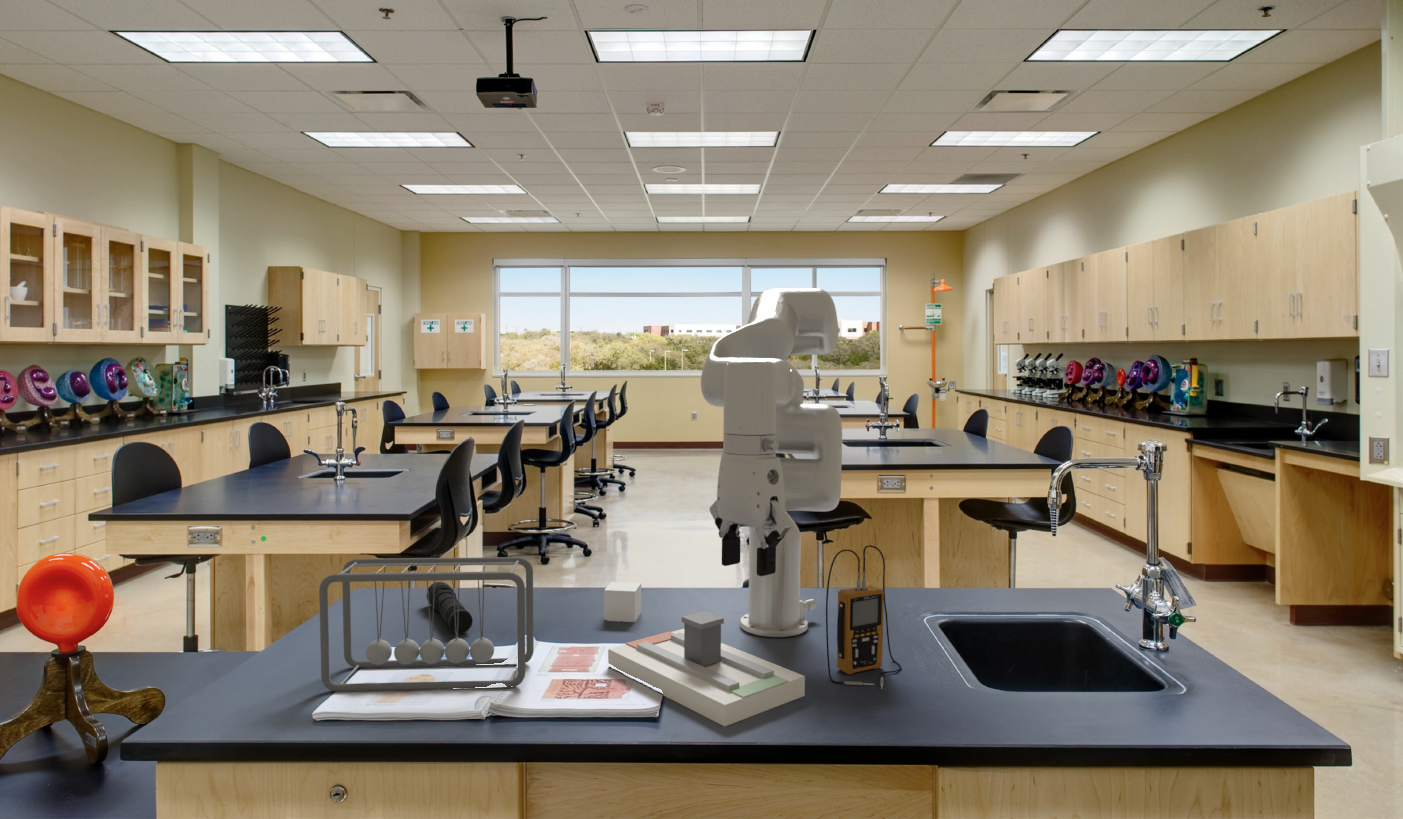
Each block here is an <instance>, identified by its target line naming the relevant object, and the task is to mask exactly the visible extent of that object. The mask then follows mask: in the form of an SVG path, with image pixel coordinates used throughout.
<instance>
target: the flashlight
mask: <svg viewBox="0 0 1403 819" xmlns="http://www.w3.org/2000/svg"><path fill="white" fill-rule="evenodd" d="M433 590H434V582H433V583H431V584H430V586H428V591H429V606H431V607H432V608H433ZM426 599H427V601H428V593H427V592H426ZM454 599H455V615H456V632H457V618H458V598H457V595H456V593H455V591H454ZM434 611H436V612H439V614H440V615H441V617H442V618H443V620H444V621H445V622H446V623H447V625H448V628H449V629H450V630H451V631H452V632H453V633H455V616H454V600H453V587H451V586H450V585H449V584H448V583H446V582H444V581H435V591H434ZM473 620H474V619H473V617H472V615H471V613H470V612H469V611H468V610H466V609H465V607H464V605H463V604H462V603H461V602H460V601H459V620H458V635H463V634H465V633H466V632H468V631H469V630H470V629H471V628H472V626H473Z"/></svg>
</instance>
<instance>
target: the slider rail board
mask: <svg viewBox="0 0 1403 819" xmlns="http://www.w3.org/2000/svg"><path fill="white" fill-rule="evenodd" d="M607 650H608V651H607V662H608V663H609V664H611V665H613V666H614V667H616V668H617V669H619V670H621V671H623V672H625V673H627V674H629V675H631V676H633V677H635V678H638V679H640V680H642V681H644V682H646V683H648V684H650V685H652V686H653V687H656V688H659V689H661V690H662V692H663V695H662V696H663V697H666V698H668V699H669V700H672V701H674V702H676V703H678V704H680V705H681V706H684V707H686V708H687V709H689V710H692V711H694V712H695V713H697V714H700V715H701V716H703V717H705V718H707V719H709V720H711V721H713V722H715V723H717V724H719V725H721V726H723V727H727V726H730V725H732V724H733V725H734V724H735V723H737V722H739V721H740V722H741V721H743V720H746V719H748V718H750V717H751V718H752V717H753V716H755V715H759V714H761V713H763V712H766V711H769V710H771V709H775V708H776V707H779V706H782V705H785V704H787V703H789V702H792V701H794V700H797V699H800V698H802V697H805V695H806V694H805V693H806V692H805V691H806V690H805V689H806V687H805V686H806V681H805V680H806V677H805V675H804V674H801V673H798V672H796V671H793V670H790V669H788V668H785V667H783V666H780V665H778V664H776V663H773V662H771V661H767V660H766V659H763V658H761V657H758V656H756V655H753V654H750V653H748V652H745V651H742V650H740V649H738V648H737V647H736V648H735V647H733V646H731V645H728V644H726V643H723V642H721V661H720V662H717V663H714V664H711V665H707V666H704V667H703V666H701V665H699V664H696V663H694V662H692V661H690V660H687V659H685V658H684V628H680V629H677V630H673V631H665V632H662V633H659V634H655V635H650V636H647V637H643V638H640V639H636V640H633V641H628V642H625V644H622V645H618V646H614V647H610V648H608V649H607ZM608 663H607V664H608Z"/></svg>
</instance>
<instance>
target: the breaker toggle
mask: <svg viewBox="0 0 1403 819" xmlns="http://www.w3.org/2000/svg"><path fill="white" fill-rule="evenodd" d="M724 620H725V618H724V617H722V616H719V615H716V614H714V613H711V612H708V611H705V610H703V611H700V612H695V613H692V614H688V615H683V616H681V623H683V624H684V626H683V629H684V658H685V659H687V660H690V661H692V662H694V663H696V664H699V665H701V666H703V667H704V666H707V665H711V664H714V663H717V662H720V661H721V643H722V624H724V623H725V621H724Z"/></svg>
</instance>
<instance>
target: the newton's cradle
mask: <svg viewBox="0 0 1403 819" xmlns="http://www.w3.org/2000/svg"><path fill="white" fill-rule="evenodd" d="M518 565H521V566H523V568H524V570H525V582H524V580H523V578H522V576H520V575H519V574H517V573H515V572H514V571H515V569H516V567H517V566H518ZM424 566H425V567H429V566H431V568H430V569H429V570H428V571H424V572H420V571H419V572H418V571H417V572H411V567H424ZM437 566H445V567H446V566H447V567H448V566H457V567H456V568H455V569H454V570H453V571H439V572H437V571H436V567H437ZM461 566H481V567H480V569H479V571H461ZM486 566H512V568H511V569H510V571H507V570H506V571H505V570H503V571H500V570H499V571H485V567H486ZM354 567H355V568H357V567H381V568H380V569H379V570H377V571H376V572H351V570H352V569H353V568H354ZM386 567H406V568H404V570H402V571H401V572H386ZM408 568H409V572H405V571H406V570H407V569H408ZM383 569H384V570H383ZM432 569H434V570H433V571H432V572H431V570H432ZM457 569H458V571H456V570H457ZM482 569H483V571H481V570H482ZM533 569H534V568H533V565H532V564H531V562H530V561H529V560H528V559H526V558H524V557H522V556H521V557H519V556H517V557H516V556H511V557H510V556H507V557H505V556H503V557H501V556H499V557H498V556H497V557H494V556H493V557H492V556H491V557H490V556H489V557H487V556H485V557H483V556H482V557H410V558H408V557H407V558H403V557H402V558H401V557H400V558H399V557H398V558H395V557H394V558H392V557H391V558H355V559H354V558H353V559H351V560H349V561H348V562H347V563H346V564H344V566H343V568H342V571H341V572H340V573H335V574H330V575H328V576H326V577H324V579H323V580H322V581H321V582H320V585H319V590H318V593H319V633H320V634H319V636H320V637H319V638H320V641H319V642H320V672H321V673H320V675H321V676H320V677H321V682H322V684H323V686H324V687H325V688H326V689H327V690H329V691H331V692H335V693H337V692H338V693H340V692H343V693H344V692H347V693H348V692H377V691H378V692H385V691H387V692H389V691H390V692H391V691H394V692H395V691H425V690H426V691H430V690H435V691H436V690H437V689H442V690H454V689H453V688H475V687H487V686H489V685H491V684H496V683H503V684H505V685H506V686H507V687H511V686H516V685H518V686H519V685H521V684H522V683H523V682H524V679H525V677H526V663H525V662H527V663H528V662H529V661H530V660H531V659H532V658H533V655H534V571H533ZM381 570H383V572H380V571H381ZM501 580H502V581H504V580H505V581H507V580H508V581H509V580H510V581H512V582H514V583H515V585H516V590H517V591H516V596H517V597H516V603H517V604H516V606H517V607H516V608H517V609H516V610H517V611H516V612H517V614H516V615H517V624H516V625H517V658H518V669H517V668H516V669H517V671H516V670H515V671H514V670H513V672H512V674H511V677H510V679H509V680H504V679H503V680H470V681H469V680H467V681H466V680H463V681H460V680H459V681H420V682H418V681H416V682H414V681H413V682H412V681H411V682H409V681H408V682H407V681H406V682H364V683H363V682H362V683H360V682H358V683H346V682H347V681H348V680H349V678H350V677H351V676H352V675H353V674H354V673H355V672H356V671H357V670H358V669H378V668H379V669H381V668H383V669H385V668H388V669H389V668H395V669H396V668H431V667H432V668H433V667H435V668H437V667H438V668H439V667H440V666H441V667H442V666H448V667H466V666H465V665H476V664H494V663H502V662H504V661H505V660H507V659H508V658H509V657H505V658H503V657H501V658H500V657H499V658H492V657H493V656H494V653H495V646H494V643H493V641H492V640H490V639H489V638H486V637H484V610H485V608H484V605H485V604H484V603H485V602H484V601H485V599H484V598H485V581H501ZM429 581H430V582H433V583H434V590H433V607H432V622H431V611H430V610H431V608H430V606H431V605H430V603H429V591H428V588H429ZM444 581H451V583H452V589H453V600H454V616H455V632H454V633H455V638H453V639H451V640H450V641H449V642H448V643H446V645H445V646H444V643H443V642H442V641H441V640H439V639H438V638H437V639H436V638H434V623H435V622H434V615H435V609H434V591H435V582H444ZM455 581H458V588H457V590H458V591H457V600H458V618H457V632H456V615H455V599H454V592H455V585H454V584H455V583H454V582H455ZM461 581H477V585H478V586H477V587H478V588H477V590H478V608H479V624H480V625H479V626H480V628H479V630H480V637H479V638H477V639H475V640H474V641H473V642H472V643H471V644H470V646H469V643H468V642H467V641H466V640H465V639H463V638H459V634H458V620H459V602H460V582H461ZM480 581H482V612H481V595H480V592H481V591H480ZM351 582H374V591H375V607H376V608H375V609H376V630H377V639H376V640H373V641H371V643H369V644H368V646H367V647H366V652H365V656H366V658H367V660H356V659H355V658H354V657H353V654H352V620H351V619H352V616H351V610H352V609H351ZM377 582H383V584H382V596H381V598H382V599H381V608H380V610H381V611H380V623H379V612H378V596H377ZM385 582H400V585H401V586H400V587H401V588H400V589H401V598H402V599H401V600H402V612H403V613H402V614H403V624H404V639H402V640H401V641H400V642H398V643H396V646H395V647H394V650H393V649H392V646H391V644H390V643H389V642H388V641H386V640H385V639H381V638H382V637H381V636H382V635H381V634H382V624H383V623H382V622H383V607H384V595H385ZM403 582H408V593H407V594H408V595H407V596H408V597H407V599H408V600H407V625H406V615H405V613H406V612H405V605H404V604H405V603H404V601H405V600H404V590H403V588H404V587H403ZM411 582H426V594H427V593H428V600H427V604H428V619H429V632H430V633H429V634H430V638H429V639H427V640H425V641H424V642H423V643H422V644H421V645H420V646H419V644H418V643H417V642H416V641H415V640H413V639H410V638H409V622H410V621H409V619H410V615H409V614H410V591H411V590H410V589H411V587H410V586H411ZM332 583H342V584H341V585H342V587H341V588H342V626H343V628H342V631H343V657H344V660H345V662H346V663H347V664H348V665H349V666H350V667H352V668H353V669H352V670H351V671H350V672H349V673H348V675H346V676H345V678H343V680H342V681H341V682H340V683H336V682H334V681H332V679H331V676H330V640H329V639H330V638H329V632H330V631H329V598H328V597H329V596H328V594H329V593H328V591H329V586H330V585H331V584H332ZM481 613H482V615H481ZM379 624H380V626H379ZM379 627H380V628H379ZM392 650H393V651H392ZM392 652H393V654H394V655H393V656H394V658H395V659H394V660H392V659H390V658H391V656H392ZM444 655H445V658H446V659H443V657H444ZM469 655H470V657H471V658H468V657H469ZM419 657H420V658H421V659H418V658H419ZM462 665H463V666H462ZM441 667H440V668H441ZM516 673H517V675H516ZM515 676H516V677H515ZM516 687H517V686H516Z"/></svg>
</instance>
